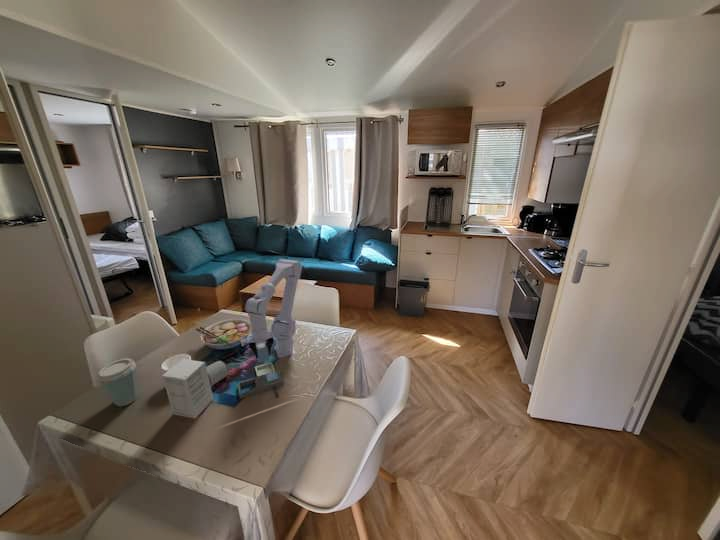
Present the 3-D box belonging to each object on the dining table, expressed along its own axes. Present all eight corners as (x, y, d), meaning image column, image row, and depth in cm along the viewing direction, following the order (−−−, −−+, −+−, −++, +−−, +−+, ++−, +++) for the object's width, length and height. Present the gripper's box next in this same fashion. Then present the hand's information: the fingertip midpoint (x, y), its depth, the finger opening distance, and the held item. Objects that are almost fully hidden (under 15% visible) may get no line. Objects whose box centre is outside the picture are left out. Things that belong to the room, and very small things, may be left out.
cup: (163, 381, 111) (157, 362, 108) (190, 368, 118) (186, 350, 114) (170, 394, 104) (164, 374, 101) (199, 380, 111) (194, 361, 108)
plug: (257, 357, 114) (255, 344, 112) (267, 354, 116) (265, 342, 114) (258, 362, 111) (257, 350, 108) (269, 360, 112) (267, 347, 110)
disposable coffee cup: (105, 415, 95) (91, 381, 90) (111, 395, 103) (98, 362, 98) (143, 403, 100) (132, 369, 95) (146, 384, 109) (136, 352, 104)
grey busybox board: (238, 387, 108) (237, 381, 107) (279, 374, 115) (278, 368, 114) (241, 411, 97) (240, 404, 96) (286, 395, 105) (286, 388, 103)
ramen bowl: (265, 340, 138) (263, 326, 135) (222, 365, 120) (219, 350, 117) (234, 325, 151) (232, 312, 148) (191, 346, 132) (188, 332, 130)
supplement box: (214, 399, 102) (206, 361, 97) (195, 419, 94) (185, 379, 88) (192, 394, 104) (183, 357, 99) (172, 414, 96) (160, 375, 90)
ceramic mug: (231, 377, 113) (228, 361, 111) (213, 390, 106) (209, 374, 104) (214, 369, 118) (210, 354, 115) (195, 381, 111) (191, 365, 109)
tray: (255, 370, 117) (254, 366, 117) (272, 365, 120) (271, 361, 120) (258, 380, 112) (257, 377, 111) (275, 375, 115) (275, 371, 114)
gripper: (240, 336, 102) (245, 366, 106) (280, 327, 108) (282, 355, 113) (238, 327, 107) (242, 356, 112) (276, 318, 114) (279, 346, 119)
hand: (262, 355), depth 113 cm, fingers closed on plug, 4 cm apart
